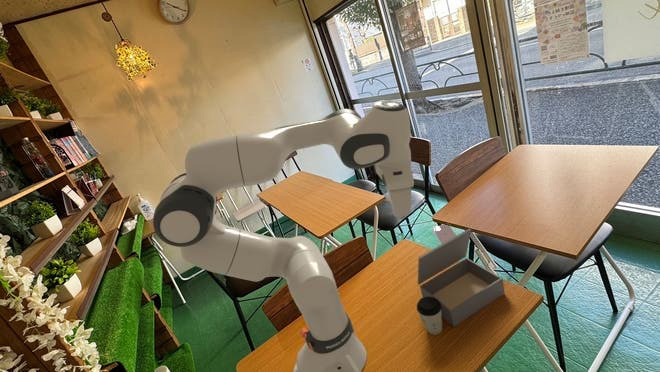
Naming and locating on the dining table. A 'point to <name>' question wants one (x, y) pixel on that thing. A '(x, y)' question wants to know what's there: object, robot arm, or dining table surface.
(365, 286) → the dining table surface
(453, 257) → the mailer lid
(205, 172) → the robot arm
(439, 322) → the coffee cup
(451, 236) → the mobile phone
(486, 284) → the mailer box
